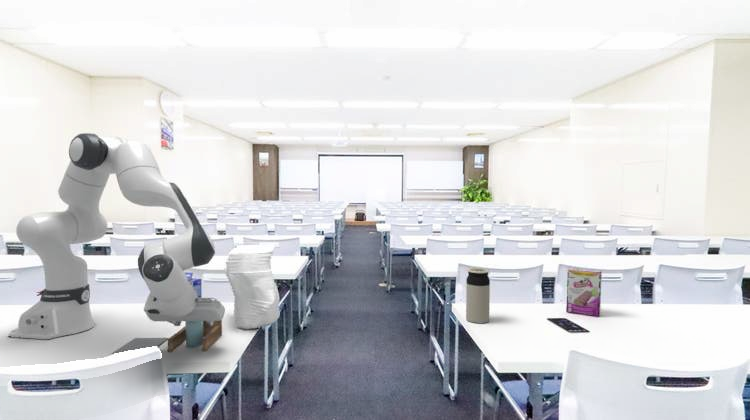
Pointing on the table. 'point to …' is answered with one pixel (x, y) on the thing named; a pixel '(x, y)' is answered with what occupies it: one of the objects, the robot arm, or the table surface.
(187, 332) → the pale blue domed cylinder
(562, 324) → the smartphone
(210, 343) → the holder
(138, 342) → the mat
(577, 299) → the candy bar box
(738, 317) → the table surface
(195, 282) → the ink cartridge box
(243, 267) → the white crumpled mass
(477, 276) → the travel mug
